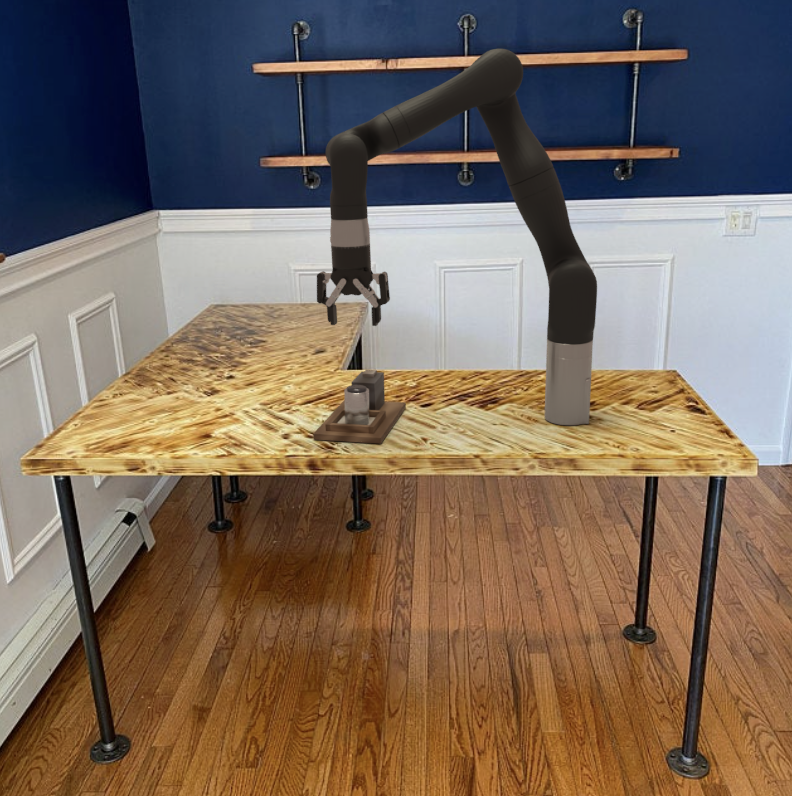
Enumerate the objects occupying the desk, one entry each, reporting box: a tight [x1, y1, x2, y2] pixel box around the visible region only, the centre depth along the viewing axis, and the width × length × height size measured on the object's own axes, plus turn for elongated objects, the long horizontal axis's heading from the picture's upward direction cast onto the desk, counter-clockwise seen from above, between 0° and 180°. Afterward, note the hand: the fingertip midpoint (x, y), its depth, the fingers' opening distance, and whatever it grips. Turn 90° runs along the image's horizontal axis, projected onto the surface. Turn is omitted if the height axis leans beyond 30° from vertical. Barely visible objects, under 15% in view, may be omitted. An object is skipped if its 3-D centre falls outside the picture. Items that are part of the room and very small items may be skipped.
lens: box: [343, 384, 369, 425], centre depth 169 cm, size 5×5×8 cm
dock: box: [312, 369, 407, 444], centre depth 173 cm, size 14×22×9 cm, turn 167°
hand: (354, 324), depth 164 cm, fingers open, 8 cm apart
